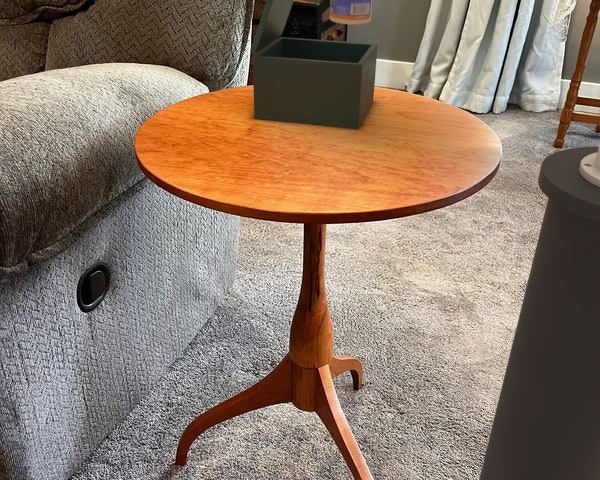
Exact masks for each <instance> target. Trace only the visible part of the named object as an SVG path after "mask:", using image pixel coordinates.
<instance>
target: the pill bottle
mask: <svg viewBox="0 0 600 480" xmlns="http://www.w3.org/2000/svg"><path fill="white" fill-rule="evenodd" d="M373 7H374V0H329V20H330V21H331V22H332V23H335V24H342V25H352V26H353V25H365V24H368V23H370V22H371V21H372V18H373Z"/></svg>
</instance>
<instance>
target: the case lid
mask: <svg viewBox="0 0 600 480" xmlns="http://www.w3.org/2000/svg"><path fill="white" fill-rule="evenodd" d="M294 1H295V0H266V2H265V5H264V8H263V11H262V14H261V17H260V20H259V24H258V26H257V28H256V32H255V36H254V39H253V41H252V45H251V48H250V50H249V51H250V53H252V54H254V55H256V54H257V53H258V52H260V51H261V50H263V49H264V48H265V47H267V46H268V45H269V44H271V43H272V42H274V41H275V40H276V39H278V38H279V37H282V35H283V32H284V29H285V26H286V24H287V20H288V19H289V15H290V12H291V10H292V7H293V4H294Z"/></svg>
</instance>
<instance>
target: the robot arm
mask: <svg viewBox="0 0 600 480" xmlns="http://www.w3.org/2000/svg"><path fill="white" fill-rule="evenodd" d="M598 147H599V148H598V152H597V153H593V154H590V155H588V156H586V157H584V158H583V159H582V160H581V163H580V167H579V172H580V174H581V175H582V177H583V178H584V179H585V180H587V181H588V182H590V183H591V184H593V185H595V186H597V187H599V188H600V144H599V145H598Z"/></svg>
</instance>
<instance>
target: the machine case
mask: <svg viewBox="0 0 600 480" xmlns="http://www.w3.org/2000/svg"><path fill="white" fill-rule="evenodd" d="M378 46H379V45H378V43H370V42H356V41H340V40H327V39H326V40H325V39H312V38H299V37H298V38H297V37H285V36H279V37H278V38H276V39H275V40H274V41H272V42H271V43H270V44H268V45H267V46H265V47H264V48H263V49H261V50H260V51H258V52H257V53H256V54H254V55H253V56H252V82H253V83H252V85H253V86H252V87H253V118H254V119H256V120H264V121H265V120H266V121H277V122H287V123H298V124H307V125H319V126H327V127H339V128H348V129H359V128H360V126H361V124H362V123H363V121H364V119H365V118H366V115H367V114H368V112H369V110H370V108H371V106H372V105H373V103H374V98H375V97H374V96H375V84H376V73H377V71H376V70H377V58H378Z"/></svg>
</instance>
